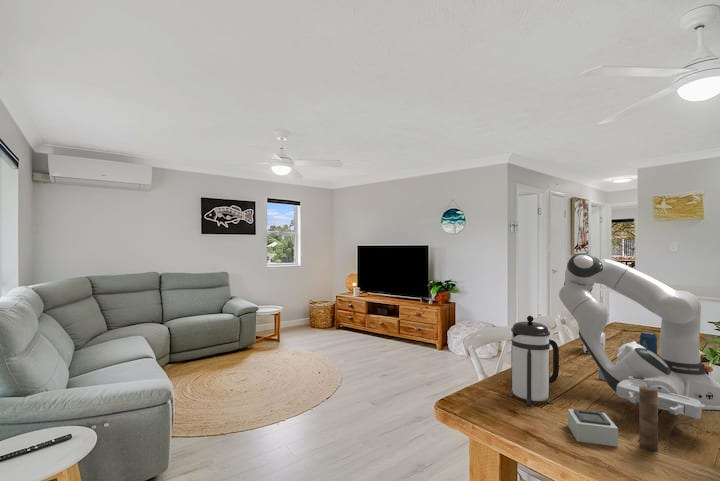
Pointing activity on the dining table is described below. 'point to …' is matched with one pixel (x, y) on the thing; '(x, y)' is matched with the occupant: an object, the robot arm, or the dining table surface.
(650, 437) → the dowel
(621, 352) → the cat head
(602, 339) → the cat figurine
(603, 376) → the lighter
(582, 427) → the collar block
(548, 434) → the dining table surface
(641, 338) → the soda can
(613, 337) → the dining table surface
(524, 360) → the coffee press
